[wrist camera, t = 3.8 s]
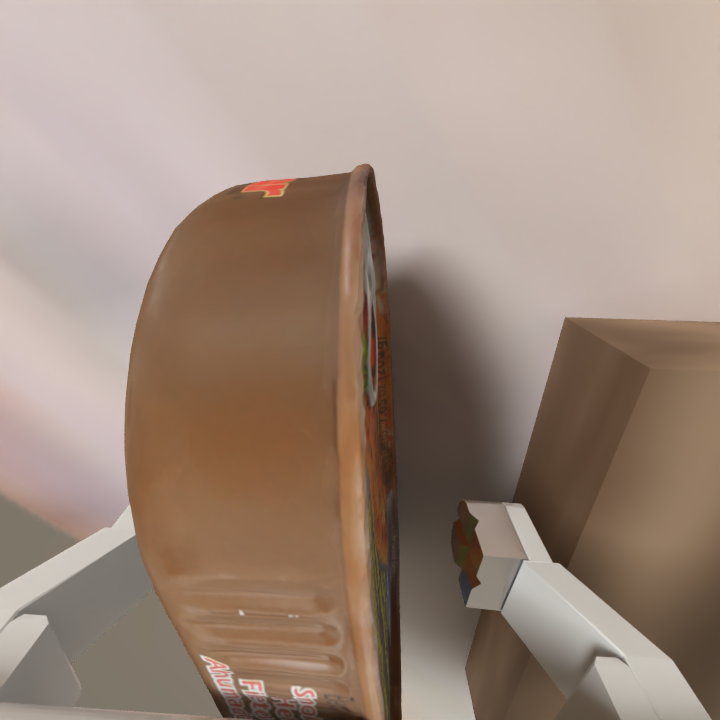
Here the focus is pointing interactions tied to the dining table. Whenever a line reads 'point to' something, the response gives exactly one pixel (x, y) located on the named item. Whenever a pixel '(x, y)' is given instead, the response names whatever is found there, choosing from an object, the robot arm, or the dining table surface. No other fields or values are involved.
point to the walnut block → (622, 502)
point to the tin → (273, 449)
